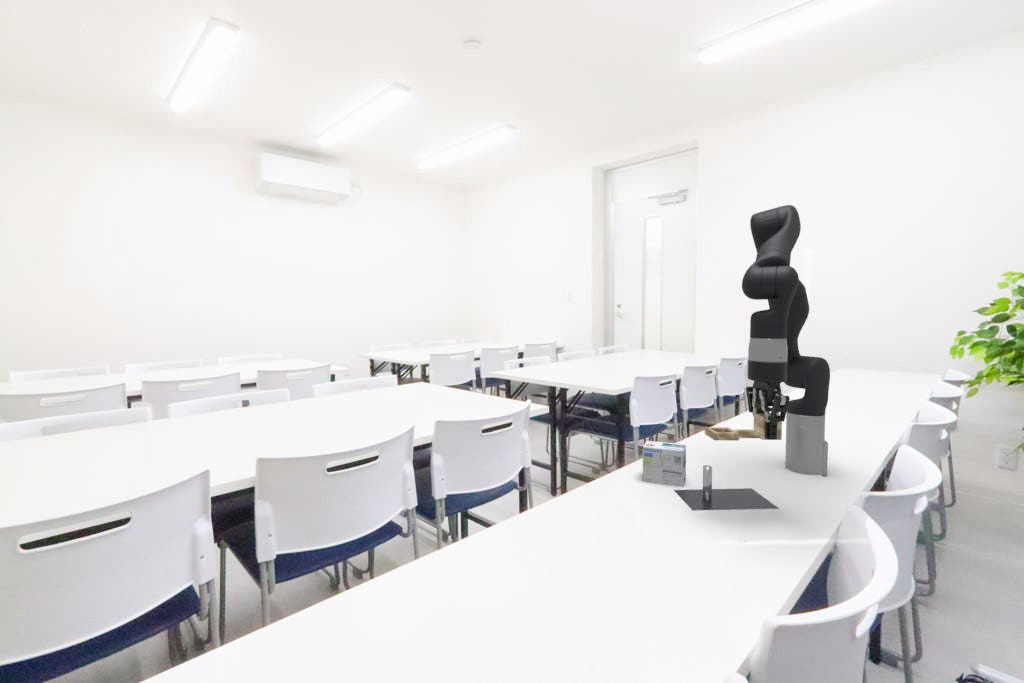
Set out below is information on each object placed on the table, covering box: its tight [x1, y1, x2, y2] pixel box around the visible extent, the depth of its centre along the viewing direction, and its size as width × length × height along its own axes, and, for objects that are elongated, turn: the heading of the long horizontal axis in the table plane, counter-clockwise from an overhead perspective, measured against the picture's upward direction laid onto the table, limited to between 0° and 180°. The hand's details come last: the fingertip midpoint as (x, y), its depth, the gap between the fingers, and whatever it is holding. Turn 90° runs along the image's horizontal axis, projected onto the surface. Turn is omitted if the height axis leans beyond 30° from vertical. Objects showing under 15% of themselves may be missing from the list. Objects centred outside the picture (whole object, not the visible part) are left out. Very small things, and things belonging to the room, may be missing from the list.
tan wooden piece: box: [704, 412, 783, 441], centre depth 102 cm, size 15×5×5 cm, turn 89°
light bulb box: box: [642, 440, 687, 488], centre depth 125 cm, size 11×7×11 cm, turn 65°
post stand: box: [673, 464, 780, 511], centre depth 112 cm, size 20×12×9 cm, turn 91°
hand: (765, 436), depth 102 cm, fingers closed on tan wooden piece, 4 cm apart
